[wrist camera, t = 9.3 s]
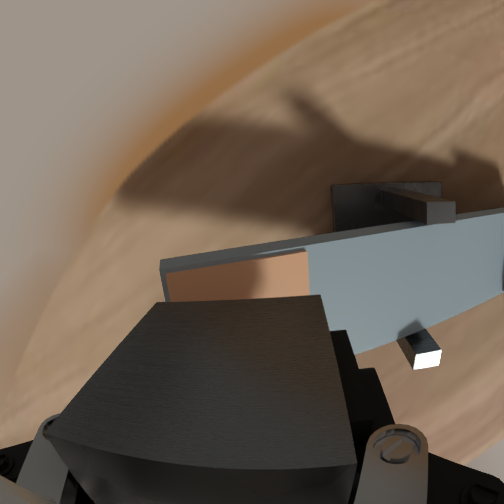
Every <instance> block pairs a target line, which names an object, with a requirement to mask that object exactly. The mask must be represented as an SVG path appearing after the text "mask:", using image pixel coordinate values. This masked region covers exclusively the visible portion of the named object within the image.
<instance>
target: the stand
mask: <svg viewBox="0 0 504 504" xmlns="http://www.w3.org/2000/svg"><path fill="white" fill-rule="evenodd" d="M331 196H332V212H333V232H340V231H347V230H354V229H360V228H367V227H374V226H380V225H387V224H394V223H400V222H407V221H414V220H418V221H420V222H422V223H425V224H427V225H428V224H446V223H455V221H456V202H455V201H452V200H448V199H443V198H441V182H386V183H360V184H340V185H331ZM396 341H397V342H398V344H399V346H400V348H401V349H402V351H403V353H404V355H405V356H406V358H407V360H408V362H409V363H410V365H411V367H412V369H413V370H416V369H421V368H426V367H431V366H436V365H439V360H440V355H441V349H440V347H439V346H438V345H437V343H436V342H435V341H434V339H433V338H432V337H431V335H430V334H429V333H428V332H427V330H426V329H423V330H421V331H418V332H416V333H413V334H411V335H408V336H406V337H403V338H400V339H398V340H396Z"/></svg>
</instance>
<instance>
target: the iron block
mask: <svg viewBox="0 0 504 504" xmlns="http://www.w3.org/2000/svg"><path fill="white" fill-rule="evenodd" d="M45 434H46V436H47V438H48V439H49V441H50V442H51V444H52V445H53V447H54V449H55V450H56V452H57V453H58V455H59V456H60V458H61V459H62V461H63V462H64V463H65V465H66V466H67V468H68V469H69V470H70V472H71V473H72V475H73V476H74V477H75V479H76V480H77V481H78V483H79V484H80V485H81V487H82V488H83V489H84V490H85V492H86V493H87V494H88V495H89V497H90V498H91V499H92V500H93V501H94V503H95V504H348V501H349V497H350V493H351V489H352V485H353V481H354V476H355V472H356V467H357V459H356V453H355V448H354V443H353V437H352V432H351V427H350V422H349V417H348V412H347V407H346V402H345V397H344V392H343V388H342V383H341V378H340V374H339V369H338V365H337V360H336V356H335V352H334V347H333V343H332V339H331V335H330V330H329V326H328V322H327V318H326V314H325V310H324V306H323V302H322V298H321V294H318V295H305V296H290V297H274V298H257V299H237V300H215V301H187V302H157V303H156V304H155V305H154V306H153V307H152V308H151V309H150V310H149V311H148V313H147V314H146V315H145V316H144V317H143V318H142V319H141V320H140V321H139V323H138V324H137V325H136V326H135V327H134V328H133V329H132V330H131V332H130V333H129V334H128V335H127V336H126V337H125V338H124V340H123V341H122V342H121V343H120V344H119V345H118V346H117V348H116V349H115V350H114V351H113V352H112V353H111V354H110V356H109V357H108V358H107V359H106V360H105V361H104V363H103V364H102V365H101V366H100V367H99V368H98V370H97V371H96V372H95V373H94V374H93V375H92V377H91V378H90V379H89V380H88V381H87V382H86V384H85V385H84V386H83V387H82V388H81V390H80V391H79V392H78V393H77V394H76V396H75V397H74V398H73V399H72V400H71V402H70V403H69V404H68V405H67V406H66V408H65V409H64V410H63V411H62V412H61V414H60V415H59V416H58V417H57V418H56V420H55V421H54V422H53V423H52V425H51V426H50V427H49V428H48V430H47V431H46V432H45Z"/></svg>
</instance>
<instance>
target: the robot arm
mask: <svg viewBox="0 0 504 504" xmlns="http://www.w3.org/2000/svg"><path fill="white" fill-rule="evenodd" d="M330 335H331V339H332V343H333V347H334V352H335V356H336V360H337V365H338V369H339V374H340V378H341V383H342V388H343V392H344V397H345V402H346V407H347V412H348V417H349V422H350V427H351V432H352V437H353V443H354V448H355V453H356V459H357V467H356V472H355V476H354V481H353V485H352V489H351V493H350V497H349V501H348V504H504V483H503V482H502V481H501V480H500V479H499V478H497V477H495V476H493V475H490V474H487V473H484V472H481V471H478V470H475V469H472V468H469V467H466V466H463V465H460V464H458V463H455V462H452V461H450V460H447V459H444V458H442V457H439V456H436V455H434V454H431V453H429V452H428V443H427V439H426V437H425V436H424V434H423V433H422V432H421V431H419V430H418V429H417V428H415V427H412V426H409V425H404V424H395V422H394V419H393V416H392V413H391V411H390V408H389V405H388V402H387V399H386V397H385V394H384V391H383V389H382V386H381V383H380V380H379V378H378V375H377V373H376V370H375V368H364V369H359V368H358V365H357V362H356V358H355V355H354V352H353V349H352V346H351V343H350V340H349V337H348V334H347V331H346V330H336V331H330ZM60 414H61V413H60ZM60 414H56V415H53V416H51V417H49V418H47V419H46V420H45V421H44V422H43V423H42V424H41V425H40V427H39V429H38V431H37V433H36V436H35V438H34V440H32V441H29V442H25V443H22V444H18V445H15V446H11V447H8V448H4V449H0V504H95V503H94V501H93V500H92V499H91V498H90V497H89V495H88V494H87V493H86V492H85V490H84V489H83V488H82V487H81V485H80V484H79V483H78V481H77V480H76V479H75V477H74V476H73V475H72V473H71V472H70V470H69V469H68V468H67V466H66V465H65V463H64V462H63V461H62V459H61V458H60V456H59V455H58V453H57V452H56V450H55V449H54V447H53V445H52V444H51V442H50V441H49V439H48V438H47V436H46V434H45V432H46V431H47V430H48V428H49V427H50V426H51V425H52V423H53V422H54V421H55V420H56V418H57V417H58V416H59V415H60Z"/></svg>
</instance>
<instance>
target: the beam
mask: <svg viewBox="0 0 504 504" xmlns="http://www.w3.org/2000/svg"><path fill="white" fill-rule="evenodd" d="M159 270H160V275H161V281H162V286H163V291H164V296H165V301H166V302H187V301H215V300H237V299H257V298H274V297H290V296H305V295H318V294H321V298H322V302H323V306H324V310H325V314H326V318H327V322H328V326H329V330H330V331H336V330H346V331H347V334H348V337H349V340H350V343H351V346H352V349H353V352H354V355H356V354H359V353H362V352H365V351H368V350H370V349H373V348H376V347H379V346H382V345H384V344H387V343H390V342H393V341H395V340H398V339H400V338H403V337H406V336H408V335H411V334H413V333H416V332H418V331H421V330H423V329H426V328H428V327H430V326H433V325H435V324H437V323H440V322H442V321H444V320H447V319H449V318H451V317H453V316H456V315H458V314H460V313H462V312H464V311H466V310H469V309H471V308H473V307H475V306H477V305H479V304H481V303H483V302H485V301H487V300H489V299H491V298H493V297H495V296H497V295H499V294H501V293H503V292H504V207H503V208H496V209H489V210H482V211H475V212H468V213H461V214H456V221H455V223H446V224H428V225H427V224H425V223H422V222H420V221H418V220H414V221H407V222H400V223H394V224H387V225H380V226H374V227H367V228H360V229H354V230H347V231H340V232H334V233H327V234H321V235H314V236H308V237H301V238H295V239H288V240H282V241H275V242H269V243H263V244H256V245H250V246H243V247H237V248H231V249H224V250H218V251H212V252H205V253H199V254H193V255H187V256H180V257H174V258H168V259H162V260H160V268H159Z"/></svg>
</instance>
